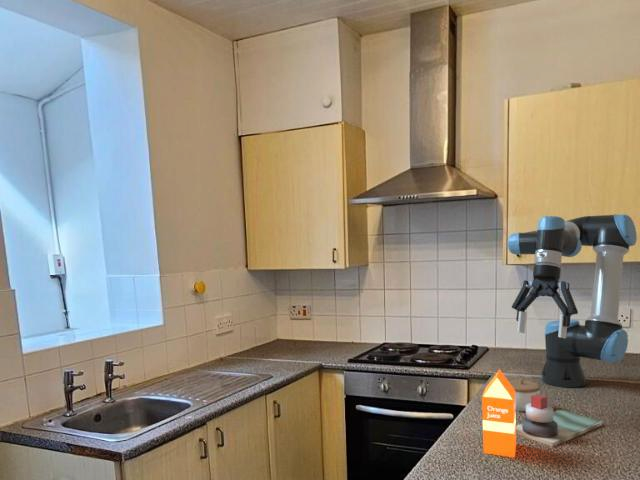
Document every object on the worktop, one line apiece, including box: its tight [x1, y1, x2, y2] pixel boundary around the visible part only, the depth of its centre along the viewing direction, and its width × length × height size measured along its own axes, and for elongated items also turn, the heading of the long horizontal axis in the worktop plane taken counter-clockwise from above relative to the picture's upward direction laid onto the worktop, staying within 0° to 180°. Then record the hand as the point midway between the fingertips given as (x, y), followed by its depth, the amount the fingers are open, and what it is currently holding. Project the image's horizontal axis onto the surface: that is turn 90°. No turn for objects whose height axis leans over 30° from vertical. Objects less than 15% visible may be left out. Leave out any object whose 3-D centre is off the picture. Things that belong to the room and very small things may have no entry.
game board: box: [516, 409, 603, 448], centre depth 141 cm, size 25×13×4 cm, turn 123°
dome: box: [525, 393, 554, 422], centre depth 137 cm, size 7×7×6 cm
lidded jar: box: [508, 378, 541, 412], centre depth 158 cm, size 11×11×9 cm
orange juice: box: [481, 368, 517, 458], centre depth 129 cm, size 8×9×20 cm
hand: (540, 335), depth 147 cm, fingers open, 13 cm apart
